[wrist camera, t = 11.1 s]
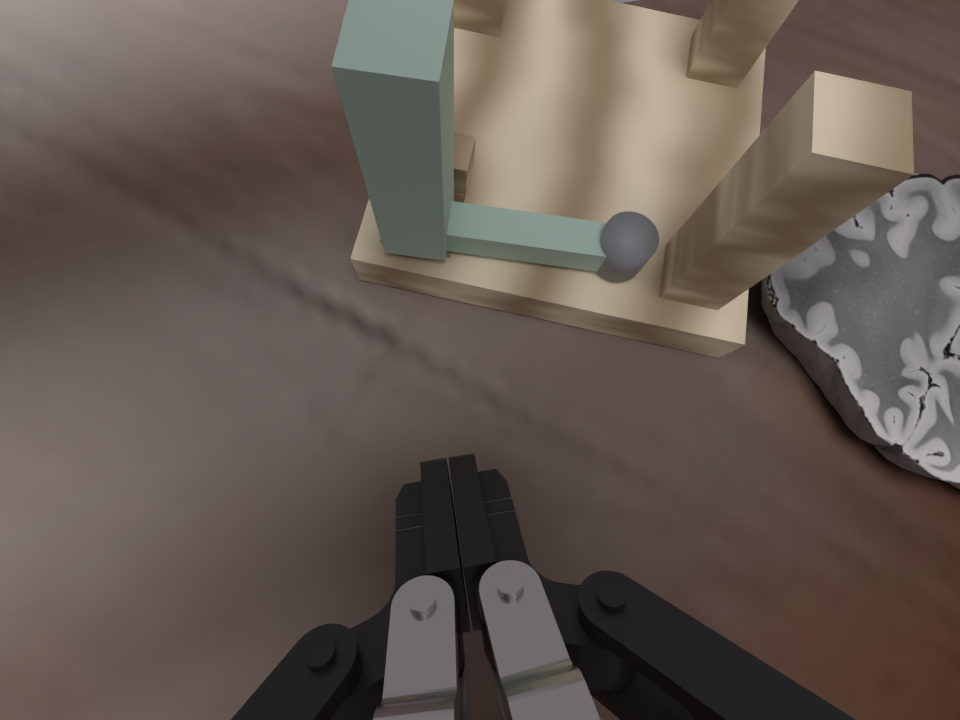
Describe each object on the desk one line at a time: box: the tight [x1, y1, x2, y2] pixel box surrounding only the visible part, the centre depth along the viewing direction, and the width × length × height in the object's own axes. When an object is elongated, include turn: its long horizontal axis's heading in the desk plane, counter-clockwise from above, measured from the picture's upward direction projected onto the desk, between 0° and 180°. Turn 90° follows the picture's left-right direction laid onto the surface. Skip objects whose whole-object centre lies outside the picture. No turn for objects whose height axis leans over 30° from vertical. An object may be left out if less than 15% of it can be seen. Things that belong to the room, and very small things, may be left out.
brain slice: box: [761, 173, 960, 489], centre depth 27 cm, size 20×17×3 cm
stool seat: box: [350, 0, 914, 358], centre depth 23 cm, size 20×20×14 cm
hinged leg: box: [332, 0, 659, 282], centre depth 20 cm, size 13×3×11 cm, turn 83°
